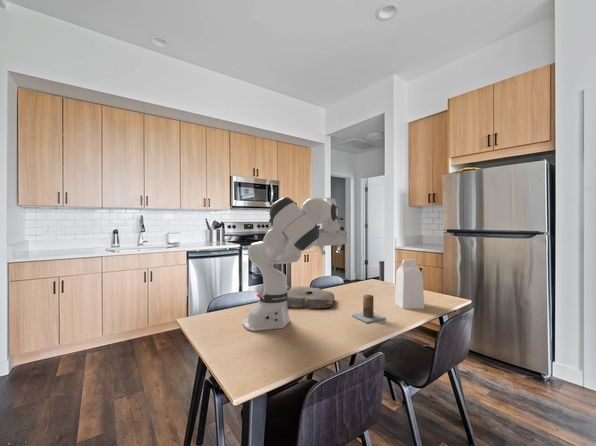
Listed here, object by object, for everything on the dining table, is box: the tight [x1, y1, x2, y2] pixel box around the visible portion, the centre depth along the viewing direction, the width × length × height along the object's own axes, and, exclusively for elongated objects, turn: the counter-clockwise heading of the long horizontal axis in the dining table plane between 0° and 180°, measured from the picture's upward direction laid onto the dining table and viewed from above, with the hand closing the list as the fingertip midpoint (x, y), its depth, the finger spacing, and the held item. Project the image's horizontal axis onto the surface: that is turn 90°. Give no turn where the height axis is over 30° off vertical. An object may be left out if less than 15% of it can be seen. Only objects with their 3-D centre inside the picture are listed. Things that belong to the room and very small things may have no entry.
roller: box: [362, 294, 375, 318], centre depth 137 cm, size 5×5×10 cm
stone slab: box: [287, 286, 335, 310], centre depth 165 cm, size 31×29×6 cm
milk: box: [394, 259, 425, 310], centre depth 156 cm, size 12×12×26 cm
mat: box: [351, 312, 387, 324], centre depth 137 cm, size 12×11×1 cm
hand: (330, 253), depth 149 cm, fingers open, 8 cm apart
